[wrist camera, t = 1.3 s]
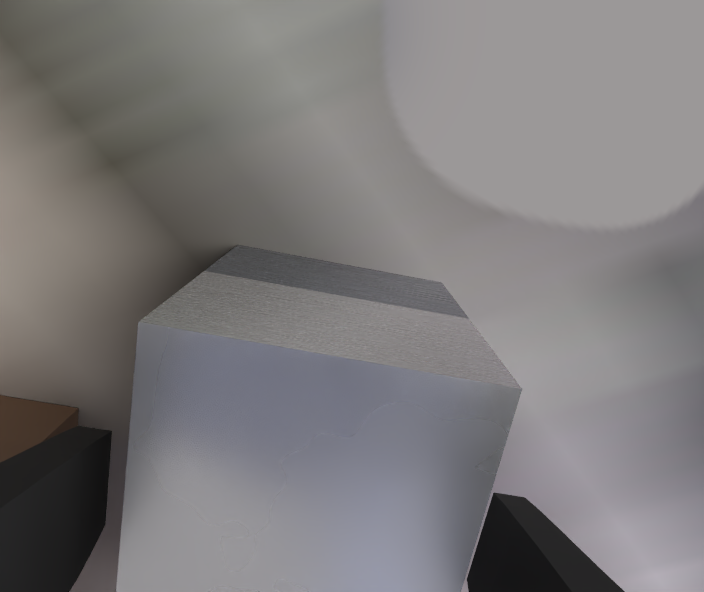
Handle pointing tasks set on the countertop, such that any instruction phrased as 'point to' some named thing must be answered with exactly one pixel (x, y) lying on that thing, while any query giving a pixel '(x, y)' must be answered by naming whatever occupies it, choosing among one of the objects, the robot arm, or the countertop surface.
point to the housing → (309, 432)
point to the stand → (31, 423)
